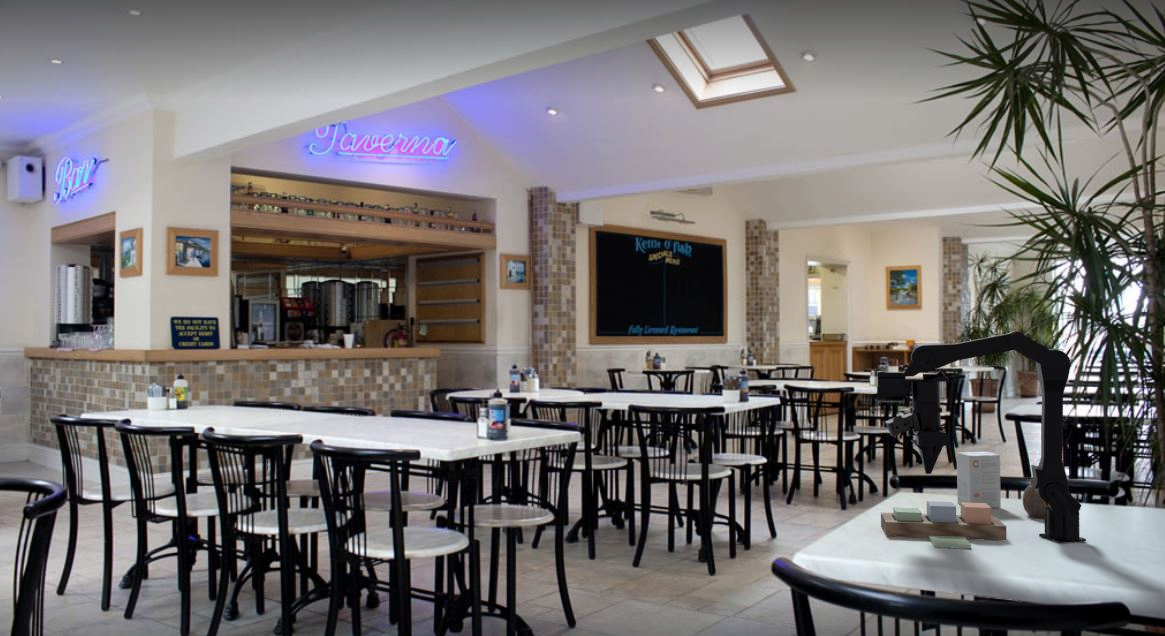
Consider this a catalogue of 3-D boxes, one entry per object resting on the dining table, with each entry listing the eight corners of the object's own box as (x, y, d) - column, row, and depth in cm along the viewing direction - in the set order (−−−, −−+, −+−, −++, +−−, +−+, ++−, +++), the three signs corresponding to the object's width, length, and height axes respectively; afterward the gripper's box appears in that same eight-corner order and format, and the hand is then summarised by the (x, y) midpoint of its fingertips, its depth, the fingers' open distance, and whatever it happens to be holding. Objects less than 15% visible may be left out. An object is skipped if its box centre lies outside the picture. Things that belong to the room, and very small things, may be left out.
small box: (986, 502, 233) (986, 451, 233) (1001, 507, 227) (1000, 454, 227) (956, 503, 232) (956, 451, 232) (970, 509, 226) (969, 455, 226)
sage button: (918, 526, 204) (918, 507, 204) (921, 531, 199) (921, 512, 199) (893, 525, 205) (893, 507, 205) (896, 530, 200) (896, 511, 200)
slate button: (951, 520, 202) (951, 501, 202) (956, 525, 197) (956, 506, 197) (926, 519, 204) (926, 501, 204) (930, 524, 198) (930, 505, 198)
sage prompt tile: (964, 540, 193) (964, 536, 193) (971, 548, 187) (971, 544, 187) (928, 539, 195) (928, 535, 195) (934, 547, 188) (934, 543, 188)
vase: (1061, 519, 213) (1060, 481, 213) (1030, 519, 214) (1030, 481, 214) (1046, 513, 220) (1046, 476, 220) (1017, 513, 220) (1017, 476, 220)
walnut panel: (995, 530, 203) (995, 516, 203) (1006, 540, 193) (1006, 526, 193) (880, 525, 208) (880, 512, 208) (886, 536, 198) (885, 521, 198)
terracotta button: (986, 521, 201) (986, 503, 201) (991, 526, 196) (991, 507, 196) (960, 520, 202) (960, 502, 202) (965, 525, 197) (965, 507, 197)
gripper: (882, 399, 213) (884, 466, 213) (893, 406, 195) (895, 480, 195) (933, 398, 211) (935, 467, 211) (949, 406, 193) (951, 481, 193)
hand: (928, 473), depth 202 cm, fingers closed
